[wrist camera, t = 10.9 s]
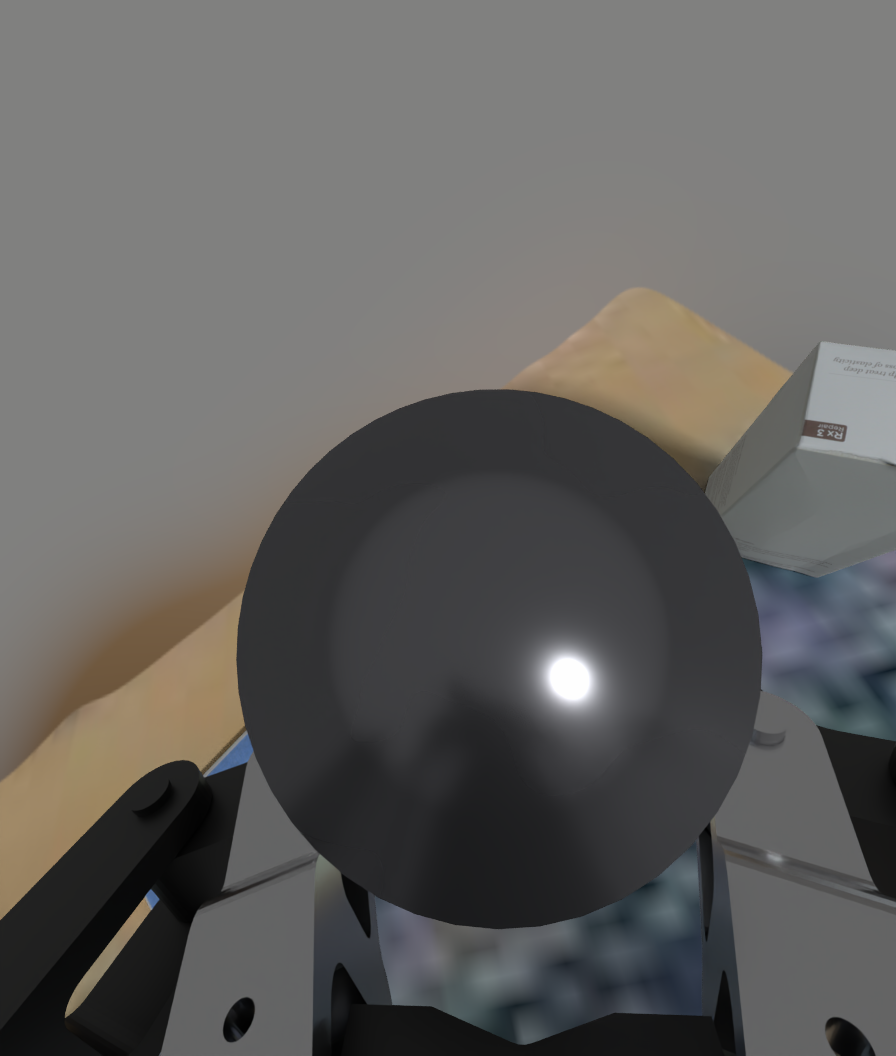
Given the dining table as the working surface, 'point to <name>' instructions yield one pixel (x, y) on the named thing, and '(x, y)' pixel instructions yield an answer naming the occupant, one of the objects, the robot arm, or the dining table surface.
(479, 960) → the dining table surface
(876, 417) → the skincare box
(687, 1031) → the robot arm
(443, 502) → the ceramic jar
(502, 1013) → the dining table surface
